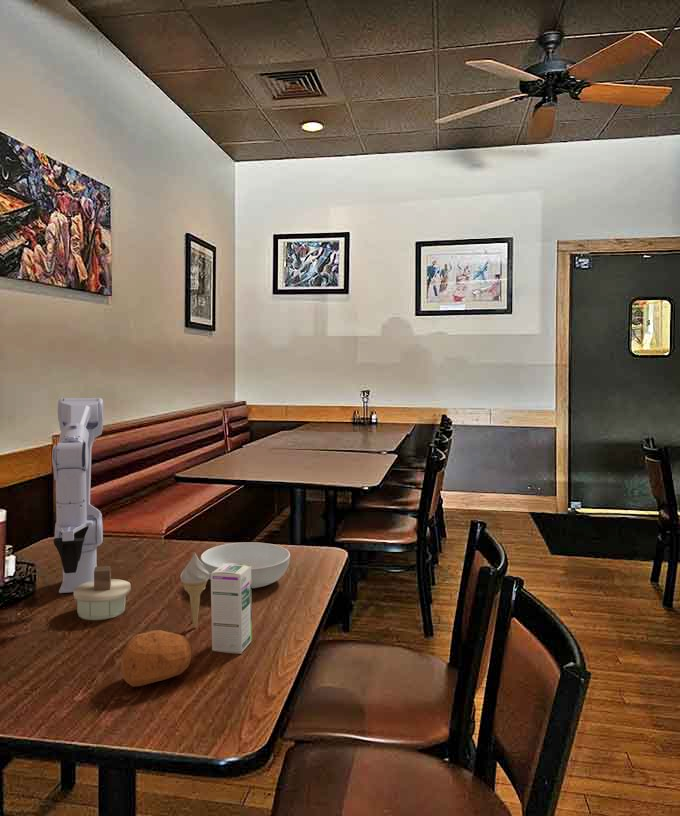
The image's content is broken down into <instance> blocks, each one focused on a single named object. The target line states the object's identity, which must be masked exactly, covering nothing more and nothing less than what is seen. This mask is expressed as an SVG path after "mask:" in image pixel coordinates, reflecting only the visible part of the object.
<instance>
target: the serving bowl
mask: <svg viewBox="0 0 680 816" xmlns="http://www.w3.org/2000/svg"><path fill="white" fill-rule="evenodd" d="M199 560H200V562H201V563H202V564H203V565H204V567H205V570H207V571H208V572H209V574H210V575H209V576H208V577H209V579H208V580H210V581H211V573H212V572H213V571H215V570H216V569H217V568H219V567H220V566H221V565H222V564H223V563H225V564H227V563H238V564H246V565H250V566H251V588H252V589H257V588H261V587H266V586H268V585H272V584H273V583H275V582H277V581H278V580H279V579H281V578H282V577H283V576H284V575H285V573H286V572H287V570H288V567H289V565H290V560H291V553H290V551H289V550H288V549H286V547H283V546H280V545H276V544H273V543H267V542H266V543H265V542H253V541H251V542H250V541H249V542H246V541H245V542H244V541H243V542H242V541H241V542H233V543H226V544H225V543H224V544H221V545H216V546H212V547H211V548H209V549H207V550H204V552H203V553H202V554H201V555H200V558H199Z"/></svg>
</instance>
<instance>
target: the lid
mask: <svg viewBox="0 0 680 816" xmlns="http://www.w3.org/2000/svg"><path fill="white" fill-rule="evenodd" d="M111 573H112V568H111V565H105V566H97V567H95V570H94V581H90V582H87V583H84V584H81V585H79V586H77V587H76V588H75V589H74V592H73V598H74V599H75V600H76V601H77V600H79V601H83V602H105V601H111V600H115V599H119V598H122V597H124V596H125V597H126V596H128V595H129V594H130V593H131V590H132V587H131V583H130V582H129V581H127V580H123V579H119V578H117V579H116V578H111V577H112V575H111Z"/></svg>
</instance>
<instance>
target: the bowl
mask: <svg viewBox="0 0 680 816" xmlns="http://www.w3.org/2000/svg"><path fill="white" fill-rule="evenodd" d="M76 607H77V608H76V609H77V610H76V611H77V612H76V613H77V614H78V617H79V618H80V619H83V620H86V621H103V620H109V619H112V618H115V617H119V616H120V615H122V614H124V612H125V611H126V596H124V597H122V598H119V599H115V600H111V601H105V602H83V601H79V600H77V599H76Z"/></svg>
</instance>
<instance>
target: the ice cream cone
mask: <svg viewBox="0 0 680 816" xmlns="http://www.w3.org/2000/svg"><path fill="white" fill-rule="evenodd" d="M209 575H210V574H209V572H208V571H207V570H205V567H204V565H203V564H202V563H201V559H200V558H199V557H198V555H197V554H196V552H195V551H194V552H193V554H192V556H191V558H190V560H189V561H188V562H187V564H186V566H185V568H183V570H182V572H181V573H180V574H179V576H180V577H179V578H180V582H181V583H182V585H183V589H184V591H185V592H187V594H188V595H189V601H190V602H189V603H190V610H191V617H192V626H193V628H194V629H196V628H197V627H198V622H199V620H198V619H199V610H200V602H201V601H200V600H201V594H202V592H203V591H204V590H205V589H206V585H207V583H208V581H209V580H210V579H209V577H208V576H209Z"/></svg>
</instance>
